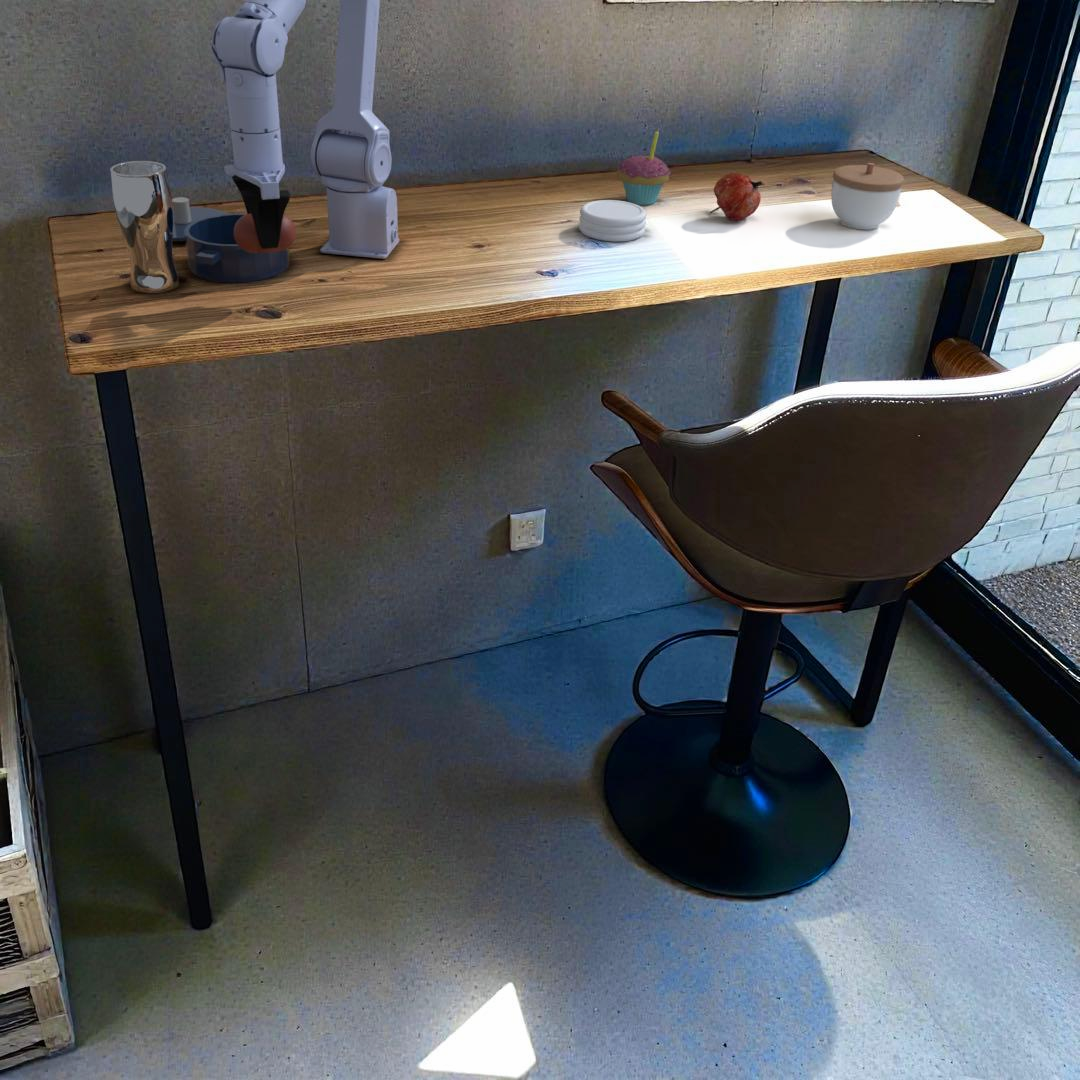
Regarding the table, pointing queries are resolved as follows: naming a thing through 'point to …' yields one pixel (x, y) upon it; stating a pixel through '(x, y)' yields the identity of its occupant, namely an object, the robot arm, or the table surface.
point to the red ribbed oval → (249, 240)
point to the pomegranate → (737, 196)
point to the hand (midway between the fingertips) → (265, 240)
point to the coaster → (612, 220)
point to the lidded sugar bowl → (865, 195)
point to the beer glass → (146, 223)
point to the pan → (228, 253)
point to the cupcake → (643, 176)
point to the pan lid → (188, 216)
